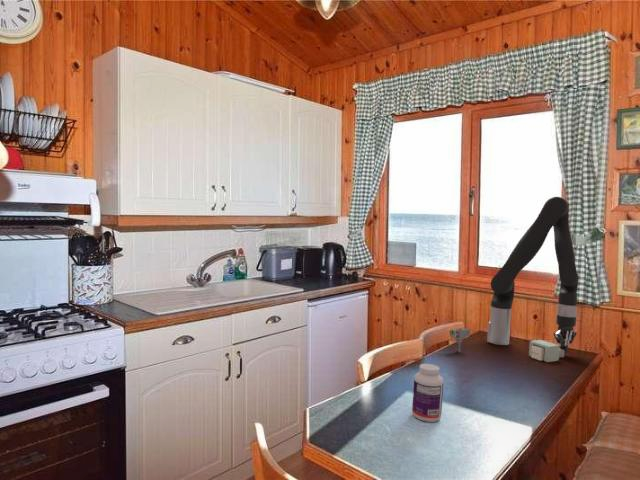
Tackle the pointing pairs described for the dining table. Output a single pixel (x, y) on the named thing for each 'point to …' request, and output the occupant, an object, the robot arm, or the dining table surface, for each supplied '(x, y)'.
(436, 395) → the pill bottle
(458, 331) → the mechanical component
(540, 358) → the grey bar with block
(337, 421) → the dining table surface
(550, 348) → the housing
